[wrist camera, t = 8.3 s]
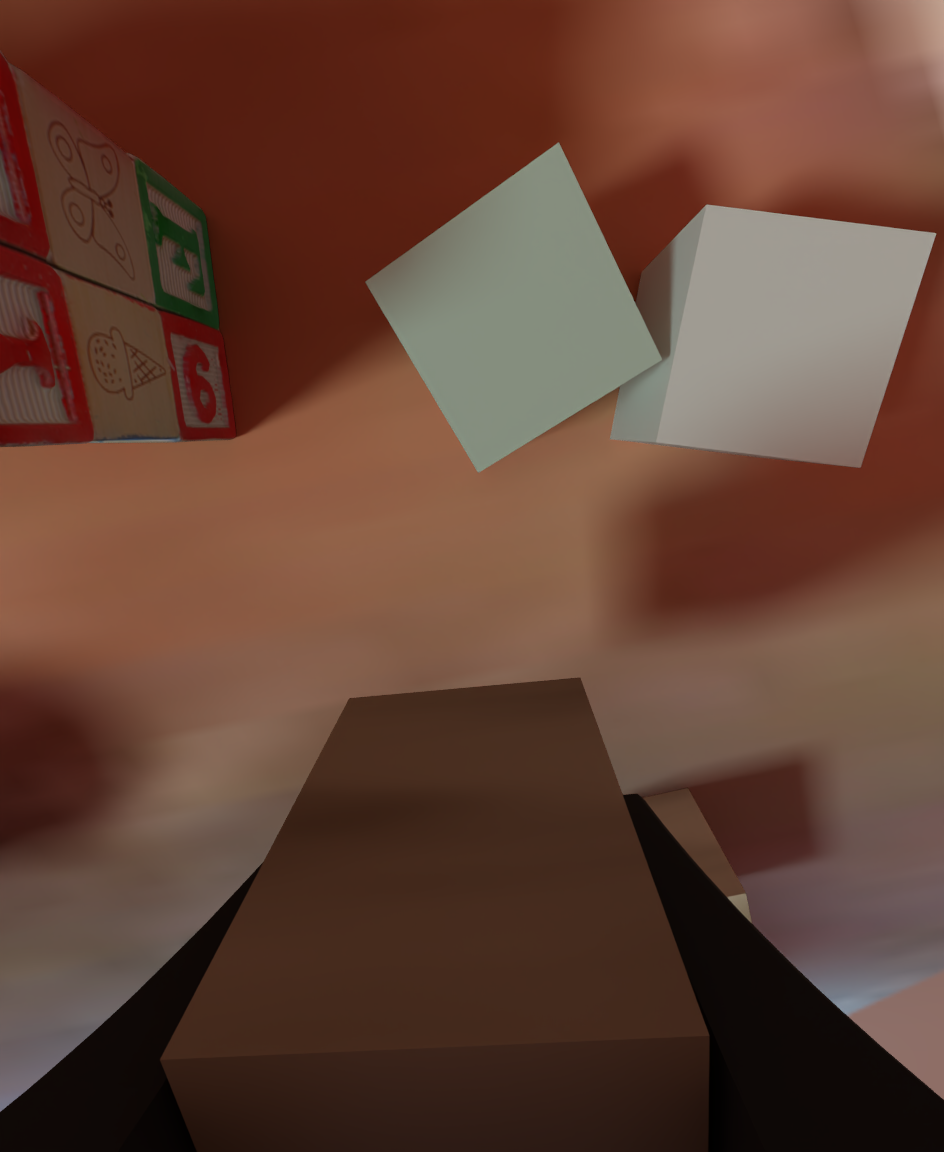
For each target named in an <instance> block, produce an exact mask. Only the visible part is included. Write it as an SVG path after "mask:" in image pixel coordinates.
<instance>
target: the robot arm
mask: <svg viewBox="0 0 944 1152" xmlns="http://www.w3.org/2000/svg"><path fill="white" fill-rule="evenodd" d="M623 797H624V800H625V803H626V806H627V809H628V811H629V814H630V817H631V820H632V822H633V825H634V828H635V831H636V833H637V836H638V839H639V842H640V845H641V847H642V850H643V853H644V856H645V858H646V861H647V864H648V867H649V870H650V872H651V875H652V878H653V881H654V883H655V886H656V889H657V892H658V894H659V897H660V900H661V903H662V906H663V908H664V911H665V914H666V917H667V919H668V922H669V925H670V928H671V930H672V933H673V936H674V939H675V942H676V944H677V947H678V950H679V953H680V955H681V958H682V961H683V964H684V967H685V969H686V972H687V975H688V978H689V980H690V983H691V986H692V989H693V991H694V994H695V997H696V1000H697V1003H698V1005H699V1008H700V1011H701V1014H702V1016H703V1019H704V1022H705V1025H706V1027H707V1030H708V1033H709V1132H708V1152H944V1100H943V1099H942V1098H941V1097H940V1096H938V1095H937V1094H936V1093H935V1092H934V1091H933V1090H931V1089H930V1088H929V1087H928V1086H927V1085H925V1084H924V1083H923V1082H922V1081H921V1080H920V1079H918V1078H917V1077H916V1076H915V1075H914V1074H913V1073H912V1072H910V1071H909V1070H908V1069H907V1068H906V1067H905V1066H903V1065H902V1064H901V1063H900V1062H899V1061H898V1060H896V1059H895V1058H894V1057H893V1056H892V1055H891V1054H889V1053H888V1052H887V1051H886V1050H885V1049H884V1048H882V1047H881V1046H880V1045H879V1044H878V1043H877V1042H876V1041H875V1040H874V1039H872V1038H871V1037H870V1036H869V1035H868V1034H867V1033H866V1032H865V1031H863V1030H862V1029H861V1028H860V1027H859V1026H858V1025H857V1024H855V1023H854V1022H853V1021H852V1020H851V1019H850V1018H849V1017H848V1016H847V1015H846V1014H845V1013H843V1012H842V1011H841V1010H840V1009H839V1008H838V1007H837V1006H836V1005H835V1004H834V1003H832V1002H831V1001H830V1000H829V999H828V998H827V997H826V996H825V995H824V994H823V993H822V992H821V991H820V990H819V989H817V988H816V987H815V986H814V985H813V984H812V983H811V982H810V981H809V980H808V979H807V978H806V977H805V976H804V975H803V974H802V973H801V972H800V971H799V970H798V969H797V968H796V967H794V966H793V965H792V964H791V963H790V962H789V961H788V960H787V959H786V958H785V957H784V956H783V955H782V954H781V953H780V952H779V951H778V950H777V949H776V948H775V947H774V946H773V945H772V944H771V943H770V942H769V941H768V940H767V939H766V938H765V937H764V936H763V935H762V934H761V933H760V932H759V931H758V930H757V928H756V927H755V926H754V925H753V924H752V923H751V922H750V921H749V920H748V919H747V918H746V917H745V916H744V915H743V914H742V913H741V912H740V911H739V910H738V909H737V908H736V906H735V905H734V904H733V903H732V902H731V901H730V900H729V899H728V898H727V897H726V896H725V894H724V893H723V892H722V891H721V890H720V889H719V888H718V887H717V886H716V885H715V884H714V882H713V881H712V880H711V879H710V878H709V877H708V876H707V875H706V874H705V873H704V871H703V870H702V869H701V868H700V867H699V866H698V865H697V863H696V862H695V861H694V860H693V859H692V858H691V857H690V855H689V854H688V853H687V852H686V851H685V849H684V848H683V847H682V846H681V845H680V844H679V842H678V841H677V840H676V839H675V838H674V836H673V835H672V834H671V833H670V832H669V830H668V829H667V828H666V827H665V825H664V824H663V823H662V822H661V820H660V819H659V818H658V817H657V815H656V814H655V813H654V811H653V810H652V809H651V808H650V806H649V805H648V804H647V802H646V801H645V800H644V799H643V798H642V797H641V796H640V795H638V794H629V795H623ZM262 864H263V863H262ZM262 864H261V865H260V866H259V867H258V868H257V869H256V871H255V872H254V873H253V874H252V875H251V876H250V877H249V878H248V879H247V880H246V881H245V882H244V883H243V885H242V886H241V887H240V888H239V889H238V890H237V891H236V892H235V893H234V894H233V895H232V896H231V897H230V898H229V899H228V900H227V902H226V903H225V904H224V905H223V906H222V907H221V908H220V909H219V910H218V911H217V912H216V913H215V914H214V915H213V916H212V917H211V919H210V920H209V921H208V922H207V923H206V924H205V925H204V926H203V927H202V928H201V929H200V930H199V931H198V932H197V933H196V934H195V935H194V936H193V937H192V938H191V939H190V940H189V941H188V942H187V943H186V944H185V945H184V946H183V947H182V948H181V949H180V950H179V951H178V952H177V953H176V954H175V955H174V956H173V957H172V958H171V959H170V960H169V961H168V962H167V963H166V964H165V965H164V966H163V967H162V968H161V969H160V970H159V971H158V972H157V973H156V974H155V975H154V976H152V977H151V978H150V979H149V980H148V981H147V982H146V983H145V984H144V985H143V986H142V987H141V988H140V989H139V990H138V991H137V992H136V993H135V994H134V995H133V996H132V997H131V998H130V999H129V1000H128V1001H127V1002H126V1003H125V1004H124V1005H123V1006H121V1007H120V1008H119V1009H118V1010H117V1011H116V1012H115V1013H114V1014H113V1015H112V1016H111V1017H110V1018H108V1019H107V1020H106V1021H105V1022H104V1023H103V1024H102V1025H101V1026H100V1027H99V1028H98V1029H96V1030H95V1031H94V1032H93V1033H92V1034H91V1035H90V1036H89V1037H87V1038H86V1039H85V1040H84V1041H83V1042H82V1043H81V1044H80V1045H78V1046H77V1047H76V1048H75V1049H74V1050H73V1051H72V1052H70V1053H69V1054H68V1055H67V1056H66V1057H65V1058H64V1059H62V1060H61V1061H60V1062H59V1063H58V1064H57V1065H56V1066H55V1067H53V1068H52V1069H51V1070H50V1071H49V1072H48V1073H47V1074H45V1075H44V1076H43V1077H42V1078H41V1079H40V1080H38V1081H37V1082H36V1083H35V1084H34V1085H33V1086H31V1087H30V1088H29V1089H28V1090H27V1091H25V1092H24V1093H23V1094H22V1095H21V1096H19V1097H18V1098H17V1099H16V1100H14V1101H13V1102H12V1103H11V1104H9V1105H8V1106H7V1107H6V1108H5V1109H3V1110H2V1111H1V1112H0V1152H197V1151H196V1148H195V1146H194V1143H193V1141H192V1138H191V1136H190V1133H189V1131H188V1128H187V1126H186V1124H185V1121H184V1119H183V1116H182V1114H181V1111H180V1109H179V1106H178V1104H177V1101H176V1099H175V1096H174V1094H173V1091H172V1089H171V1086H170V1084H169V1081H168V1079H167V1076H166V1074H165V1071H164V1069H163V1066H162V1064H161V1061H160V1059H161V1057H162V1055H163V1053H164V1051H165V1049H166V1047H167V1045H168V1043H169V1042H170V1040H171V1038H172V1036H173V1034H174V1032H175V1030H176V1028H177V1026H178V1024H179V1022H180V1021H181V1019H182V1017H183V1015H184V1013H185V1011H186V1009H187V1007H188V1005H189V1003H190V1001H191V1000H192V998H193V996H194V994H195V992H196V990H197V988H198V986H199V984H200V982H201V980H202V979H203V977H204V975H205V973H206V971H207V969H208V967H209V965H210V963H211V961H212V959H213V958H214V956H215V954H216V952H217V950H218V948H219V946H220V944H221V942H222V940H223V938H224V937H225V935H226V933H227V931H228V929H229V927H230V925H231V923H232V921H233V919H234V918H235V916H236V914H237V912H238V910H239V908H240V906H241V904H242V902H243V900H244V898H245V897H246V895H247V893H248V891H249V889H250V887H251V885H252V883H253V881H254V879H255V877H256V876H257V874H258V872H259V870H260V868H261V866H262Z"/></svg>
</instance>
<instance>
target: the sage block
mask: <svg viewBox="0 0 944 1152" xmlns="http://www.w3.org/2000/svg"><path fill="white" fill-rule="evenodd" d="M365 283H366V284H367V286H368V288H369V289H370V291H371V293H372V294H373V296H374V298H375V300H376V301H377V303H378V305H379V306H380V308H381V310H382V311H383V313H384V315H385V316H386V318H387V320H388V321H389V323H390V325H391V326H392V328H393V330H394V332H395V333H396V335H397V337H398V338H399V340H400V342H401V343H402V345H403V347H404V348H405V350H406V352H407V353H408V355H409V357H410V359H411V360H412V362H413V364H414V365H415V367H416V369H417V370H418V372H419V374H420V375H421V377H422V379H423V380H424V382H425V384H426V385H427V387H428V389H429V391H430V392H431V394H432V396H433V397H434V399H435V401H436V402H437V404H438V406H439V407H440V409H441V411H442V412H443V414H444V416H445V417H446V419H447V421H448V423H449V424H450V426H451V428H452V429H453V431H454V433H455V434H456V436H457V438H458V439H459V441H460V443H461V444H462V446H463V448H464V450H465V451H466V453H467V455H468V456H469V458H470V460H471V461H472V463H473V465H474V466H475V468H476V470H477V471H478V473H479V472H480V471H482V470H484V469H485V468H487V467H489V466H490V465H492V464H493V463H495V462H497V461H498V460H500V459H502V458H503V457H505V456H506V455H508V454H510V453H511V452H513V451H515V450H516V449H518V448H520V447H521V446H523V445H524V444H526V443H528V442H529V441H531V440H533V439H534V438H536V437H537V436H539V435H541V434H542V433H544V432H546V431H547V430H549V429H550V428H552V427H554V426H555V425H557V424H559V423H560V422H562V421H564V420H565V419H567V418H568V417H570V416H572V415H573V414H575V413H577V412H578V411H580V410H581V409H583V408H585V407H586V406H588V405H590V404H591V403H593V402H594V401H596V400H598V399H599V398H601V397H603V396H604V395H606V394H607V393H609V392H611V391H612V390H614V389H616V388H617V387H619V386H621V385H622V384H624V383H625V382H627V381H629V380H630V379H632V378H634V377H635V376H637V375H638V374H640V373H642V372H643V371H645V370H647V369H648V368H650V367H651V366H653V365H655V364H656V363H658V362H660V361H661V360H662V358H661V356H660V354H659V352H658V350H657V348H656V345H655V343H654V341H653V339H652V337H651V335H650V333H649V331H648V329H647V327H646V324H645V322H644V320H643V318H642V316H641V314H640V312H639V310H638V308H637V306H636V303H635V301H634V299H633V297H632V295H631V293H630V291H629V289H628V287H627V285H626V282H625V280H624V278H623V276H622V274H621V272H620V270H619V268H618V266H617V264H616V261H615V259H614V257H613V255H612V253H611V251H610V249H609V247H608V245H607V243H606V240H605V238H604V236H603V234H602V232H601V230H600V228H599V226H598V224H597V222H596V219H595V217H594V215H593V213H592V211H591V209H590V207H589V205H588V203H587V201H586V198H585V196H584V194H583V192H582V190H581V188H580V186H579V184H578V182H577V179H576V177H575V175H574V173H573V171H572V169H571V167H570V165H569V163H568V161H567V158H566V156H565V154H564V152H563V150H562V148H561V146H560V144H559V142H558V143H557V144H556V145H554V146H553V147H552V148H550V149H549V150H547V151H546V152H545V153H543V154H542V155H540V156H539V157H538V158H536V159H535V160H533V161H532V162H531V163H529V164H528V165H527V166H525V167H524V168H522V169H521V170H520V171H518V172H517V173H515V174H514V175H513V176H511V177H510V178H508V179H507V180H506V181H504V182H503V183H502V184H500V185H499V186H497V187H496V188H495V189H493V190H492V191H490V192H489V193H488V194H486V195H485V196H484V197H482V198H481V199H479V200H478V201H477V202H475V203H474V204H472V205H471V206H470V207H468V208H467V209H465V210H464V211H463V212H461V213H460V214H459V215H457V216H456V217H454V218H453V219H452V220H450V221H449V222H447V223H446V224H445V225H443V226H442V227H440V228H439V229H438V230H436V231H435V232H434V233H432V234H431V235H429V236H428V237H427V238H425V239H424V240H422V241H421V242H420V243H418V244H417V245H415V246H414V247H413V248H411V249H410V250H409V251H407V252H406V253H404V254H403V255H402V256H400V257H399V258H397V259H396V260H395V261H393V262H392V263H390V264H389V265H388V266H386V267H385V268H384V269H382V270H381V271H379V272H378V273H377V274H375V275H374V276H372V277H371V278H370V279H368V280H367V281H365Z"/></svg>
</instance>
